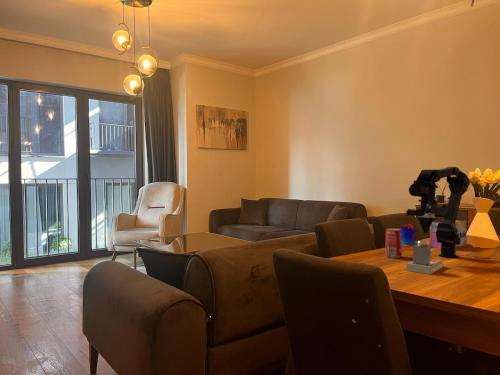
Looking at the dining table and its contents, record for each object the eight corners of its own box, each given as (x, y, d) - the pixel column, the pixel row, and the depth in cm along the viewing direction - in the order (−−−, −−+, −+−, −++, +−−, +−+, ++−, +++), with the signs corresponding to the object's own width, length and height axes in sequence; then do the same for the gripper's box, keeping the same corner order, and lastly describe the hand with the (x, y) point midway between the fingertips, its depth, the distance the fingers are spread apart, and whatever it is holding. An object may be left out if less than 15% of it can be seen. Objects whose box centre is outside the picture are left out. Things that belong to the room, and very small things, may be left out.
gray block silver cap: (417, 264, 159) (417, 239, 158) (430, 266, 155) (430, 241, 155) (413, 266, 155) (413, 241, 155) (426, 268, 152) (426, 242, 151)
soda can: (403, 258, 177) (403, 230, 177) (386, 258, 179) (386, 230, 178) (400, 255, 184) (400, 228, 184) (384, 255, 186) (384, 228, 185)
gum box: (454, 242, 219) (454, 218, 219) (468, 244, 213) (468, 220, 212) (429, 247, 206) (429, 221, 206) (443, 249, 200) (443, 223, 199)
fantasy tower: (392, 243, 216) (392, 222, 216) (409, 242, 220) (409, 221, 220) (406, 247, 205) (406, 225, 205) (424, 246, 209) (425, 224, 208)
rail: (421, 263, 168) (421, 256, 168) (443, 266, 162) (443, 259, 162) (406, 270, 155) (406, 263, 155) (429, 274, 149) (430, 267, 149)
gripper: (426, 196, 161) (424, 234, 160) (459, 199, 167) (456, 235, 167) (406, 196, 171) (404, 231, 171) (437, 198, 178) (435, 232, 177)
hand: (425, 233), depth 171 cm, fingers closed
